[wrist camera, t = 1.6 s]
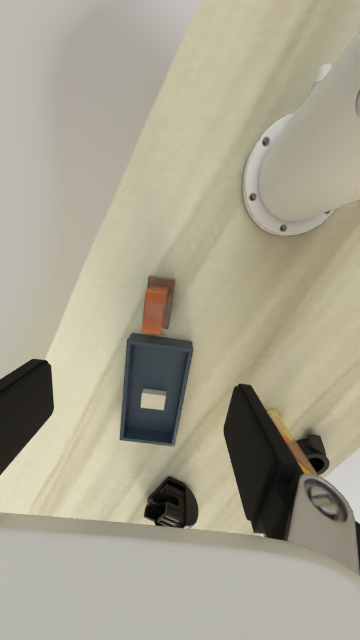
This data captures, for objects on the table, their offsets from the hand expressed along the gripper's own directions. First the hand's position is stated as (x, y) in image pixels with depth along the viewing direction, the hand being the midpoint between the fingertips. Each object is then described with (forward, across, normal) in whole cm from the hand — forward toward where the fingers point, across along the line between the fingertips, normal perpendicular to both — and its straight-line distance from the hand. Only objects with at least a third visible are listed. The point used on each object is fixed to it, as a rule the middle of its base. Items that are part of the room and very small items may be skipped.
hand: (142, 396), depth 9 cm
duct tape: (+20, -30, +25) cm, 44 cm away
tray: (+20, 0, +14) cm, 24 cm away
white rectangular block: (+19, 0, +16) cm, 25 cm away
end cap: (+20, -6, +41) cm, 46 cm away
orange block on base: (+19, +1, -1) cm, 19 cm away
